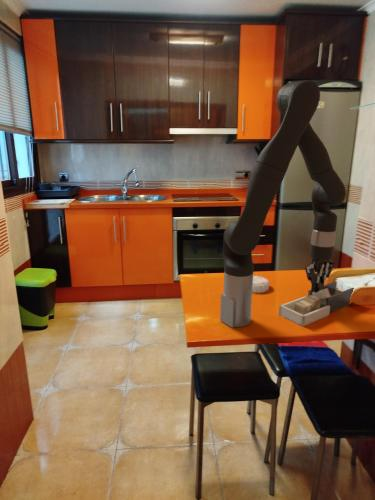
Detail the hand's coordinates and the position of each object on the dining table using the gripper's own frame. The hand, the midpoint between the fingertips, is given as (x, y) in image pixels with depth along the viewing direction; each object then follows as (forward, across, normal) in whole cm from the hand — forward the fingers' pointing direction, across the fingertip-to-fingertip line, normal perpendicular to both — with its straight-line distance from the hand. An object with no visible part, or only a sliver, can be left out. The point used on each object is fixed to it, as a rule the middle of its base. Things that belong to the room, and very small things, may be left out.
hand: (317, 290), depth 120 cm
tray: (+7, -6, 0) cm, 10 cm away
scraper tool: (+2, 0, -2) cm, 3 cm away
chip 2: (+6, -3, 0) cm, 7 cm away
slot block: (+7, +9, 0) cm, 11 cm away
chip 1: (+5, -5, 0) cm, 7 cm away
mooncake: (+8, -2, +28) cm, 29 cm away
